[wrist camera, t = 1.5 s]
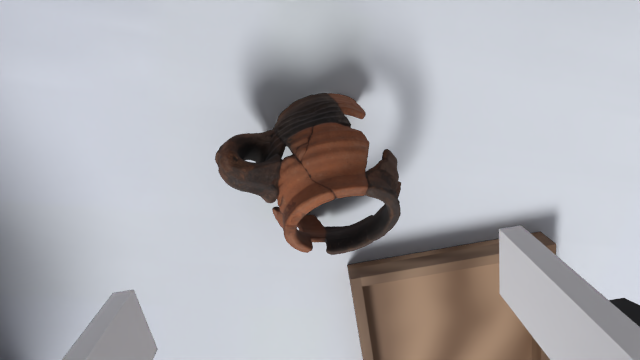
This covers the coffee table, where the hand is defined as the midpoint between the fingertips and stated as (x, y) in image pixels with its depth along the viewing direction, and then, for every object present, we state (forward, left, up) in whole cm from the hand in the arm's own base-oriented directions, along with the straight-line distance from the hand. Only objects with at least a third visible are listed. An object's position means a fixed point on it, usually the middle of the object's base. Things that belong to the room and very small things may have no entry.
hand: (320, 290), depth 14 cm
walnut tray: (+9, -17, -15) cm, 24 cm away
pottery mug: (0, 0, -15) cm, 15 cm away
